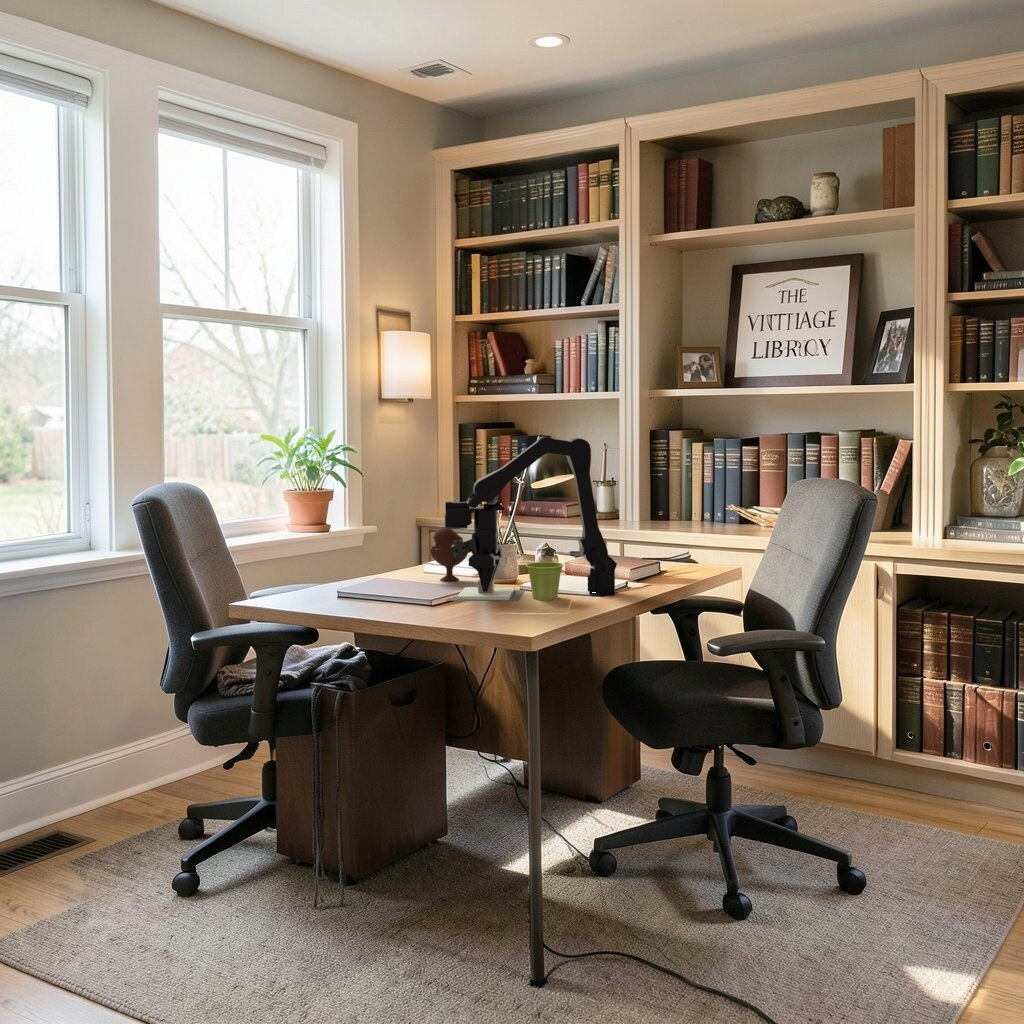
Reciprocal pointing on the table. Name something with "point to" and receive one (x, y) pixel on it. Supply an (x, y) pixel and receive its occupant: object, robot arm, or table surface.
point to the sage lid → (485, 593)
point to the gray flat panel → (514, 597)
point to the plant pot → (544, 579)
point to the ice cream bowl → (446, 552)
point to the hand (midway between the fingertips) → (486, 589)
